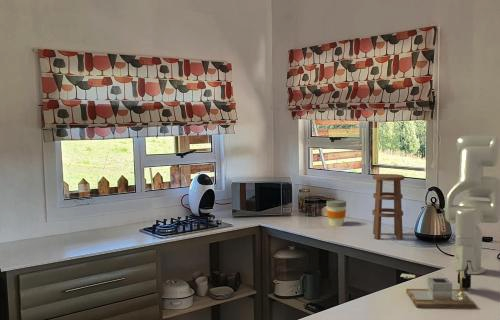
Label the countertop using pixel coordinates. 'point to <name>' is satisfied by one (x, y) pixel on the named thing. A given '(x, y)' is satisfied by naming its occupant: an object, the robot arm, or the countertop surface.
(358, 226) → the countertop surface
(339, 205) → the reusable coffee cup
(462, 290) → the hinge pin
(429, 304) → the walnut board
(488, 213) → the robot arm
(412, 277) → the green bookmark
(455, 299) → the grey stepped block
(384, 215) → the stool
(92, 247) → the countertop surface
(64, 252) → the countertop surface
